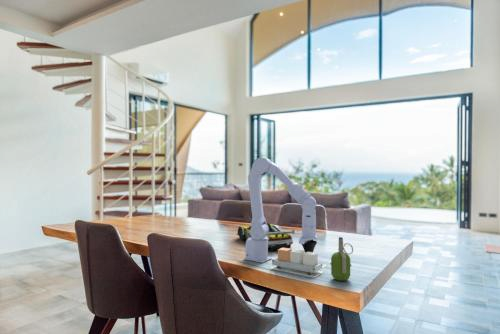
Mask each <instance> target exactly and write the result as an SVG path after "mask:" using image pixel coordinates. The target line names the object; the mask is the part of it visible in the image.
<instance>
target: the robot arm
mask: <svg viewBox="0 0 500 334" xmlns="http://www.w3.org/2000/svg"><path fill="white" fill-rule="evenodd" d="M267 174H268V175H272V176H275V177H276V178H277V179H278V180H279V181H280V182H281V183H282V184H283V185H284V186H286V188H287V189H288V194H289V195H290V196H291V197H292V198H293V199H294V200H295V201H296V202H297V203H298V204H300V207H301V209H302V214H301V236H300V238H298V244H299V245H300V244H301V245H302V248H303V251H304V253H306V252H315V251H314V250H315V247H316V246H317V243H318V241H317V240H319V233H317V215H316V213H317V211H316V210H317V209H316V207H317V201H316V199H315V197H314V196H312V194H311V193H308V191H306V190H305V189H304V185H303V184H302V183H298V182H293V180H292V179H291V178H290V177H289V176H288V175H287V174H286V173H285V171H284V170H282V168H281V167H280V166H278V165H277V164H276V163H275V162H273V161H272V160H271V159H270V158H267V157H266V158H265V157H258V158H257V159H256V160H255V161H254V162H253V163H252V166H251V168H250V171H249V174H248V176H247V181H248V189H249V190H248V191H249V199H250V207H251V208H250V209H251V216H252V218H251V222H250V224H251V225H250V226H251V229H250V235H251V238H248V239H247V240H245V249H244V252H245V256H244V258H243V259H244V260H245V261H246V260H247V261H252V262H256V263H261V264H263V263H264V262H267V261H270V260H272V257H270V256H269V250H268V249H269V248H268V237H267V234H268V232H269V227H268V225H267V223H268V222H267V220H266V219H267V218H266V216H265V215H264V213H265V212H264V205H263V196H262V189H261V180H262V179H263V177H265V175H267Z"/></svg>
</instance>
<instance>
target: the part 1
mask: <svg viewBox="0 0 500 334" xmlns="http://www.w3.org/2000/svg"><path fill="white" fill-rule="evenodd" d="M304 253H305V251H304V250H302V249H292V251H290V262H291V263H296V264H301V265H303V254H304Z"/></svg>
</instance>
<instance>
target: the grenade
mask: <svg viewBox="0 0 500 334" xmlns="http://www.w3.org/2000/svg"><path fill="white" fill-rule="evenodd" d="M346 245H349V246H350V248H351V252H350V253H348V252H347V251H346V249H345V246H346ZM353 252H354V247H353V246H352V244H351V243H349V242H346V243H344V238H343V237H341V236H339V237H338V251H337V252H336V251H335V252H334V253H333V254H332V255H331V258H330V265H331V266H330V267H331V268H330V270H331V271H330V274H331V277H332V278H333V279H335V280H336V281H339V282H345V281H347V280H349V279H350V277H351V267H352V264H351V258H350V255H351V254H353Z"/></svg>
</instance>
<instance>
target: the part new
mask: <svg viewBox="0 0 500 334" xmlns="http://www.w3.org/2000/svg"><path fill="white" fill-rule="evenodd" d="M290 251H293V249H292V248H280V249H278V250H277V257H278V260H280V261H285V262H290Z"/></svg>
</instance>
